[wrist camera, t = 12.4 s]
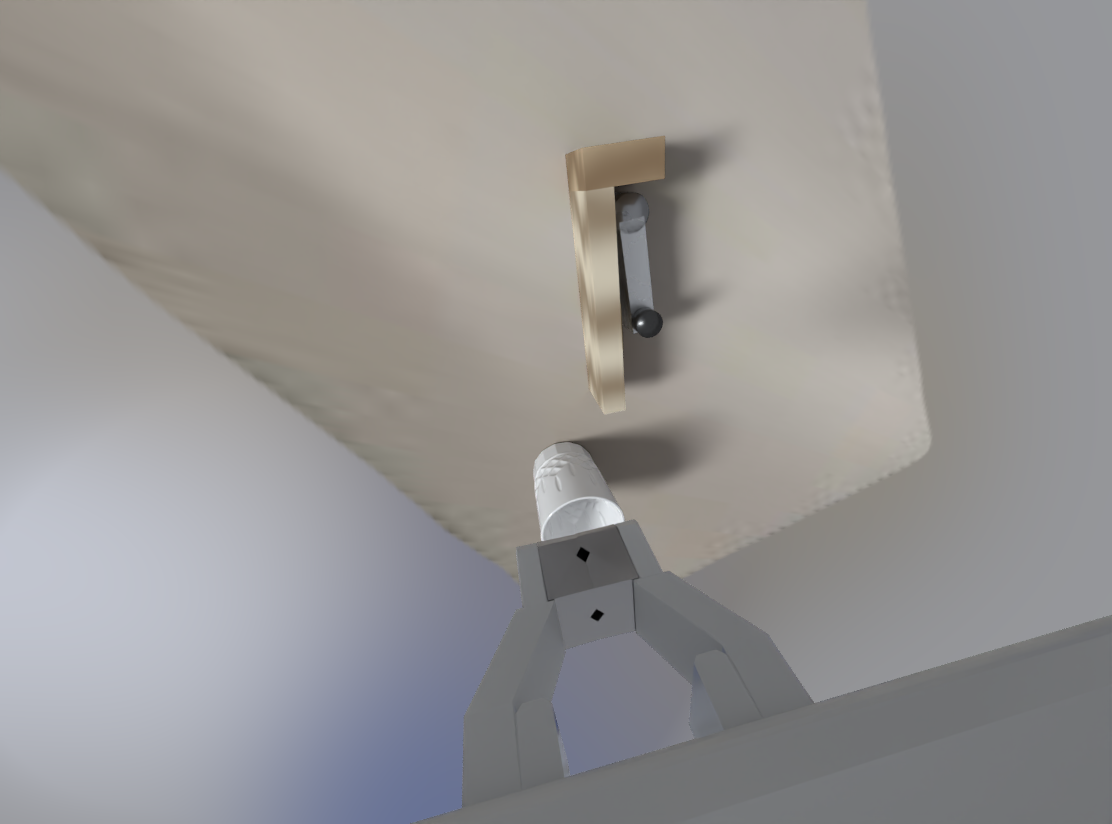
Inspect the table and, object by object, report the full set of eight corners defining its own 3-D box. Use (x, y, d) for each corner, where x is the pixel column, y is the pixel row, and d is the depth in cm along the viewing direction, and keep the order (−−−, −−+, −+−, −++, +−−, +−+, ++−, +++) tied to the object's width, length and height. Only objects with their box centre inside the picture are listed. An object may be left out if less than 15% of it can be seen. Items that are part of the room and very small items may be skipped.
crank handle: (597, 197, 32) (617, 198, 28) (630, 188, 32) (654, 187, 28) (616, 324, 38) (635, 341, 33) (644, 316, 38) (667, 332, 34)
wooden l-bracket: (565, 154, 31) (582, 147, 26) (635, 144, 31) (664, 135, 27) (589, 389, 41) (604, 414, 36) (642, 378, 42) (663, 401, 37)
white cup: (602, 480, 47) (631, 544, 39) (539, 502, 47) (554, 571, 39) (587, 427, 43) (615, 485, 35) (518, 451, 43) (530, 515, 35)
